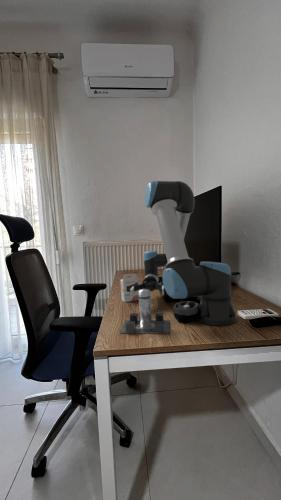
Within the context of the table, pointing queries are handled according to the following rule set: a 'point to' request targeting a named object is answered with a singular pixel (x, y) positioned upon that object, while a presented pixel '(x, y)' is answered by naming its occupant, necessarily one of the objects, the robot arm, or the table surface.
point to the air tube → (144, 308)
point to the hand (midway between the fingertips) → (146, 292)
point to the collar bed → (134, 328)
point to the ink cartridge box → (124, 283)
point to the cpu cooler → (186, 311)
